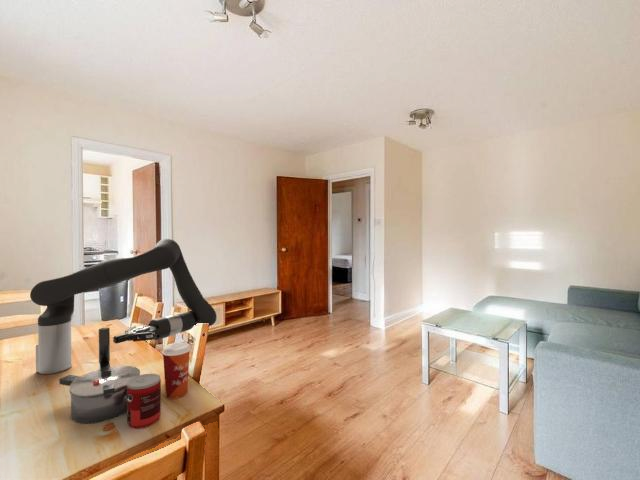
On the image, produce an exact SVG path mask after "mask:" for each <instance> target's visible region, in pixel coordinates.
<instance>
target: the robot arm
mask: <svg viewBox="0 0 640 480" xmlns="http://www.w3.org/2000/svg"><path fill="white" fill-rule="evenodd" d="M167 269H169V270H170V271H171V274H172V276H173V278H174V282H175V285H176V290H177V292H178V294H179V296H180V298H181V299H182V302H183V303H184V304H185V306H186V307H187V309H189V311H187V312H182V313H178V314H171V315H166V316H162V317H158V318H153V319H151V320H150V321H149V323H148V325H145V324H144V325H141V326H139V327H137V326H135V325H134V326H132V327H130V328H128V329H126V330H125V331H124V333H122V334H117V335H114V336H113V337H112V338H113V339H112V341H113V343H114V344H120V343H124V342H133V343H134V342H142V341H143V342H144V341H152V340H153V341H158V340H162V339H165V338H168V337H173V336H175V335H177V334H181V333H184V332H187V331H190V330H192V329H193V328H194V327H195V326H197V325H196V324H197V323H209V326H208V327H211V326H213V325H215V323H216V321H217V317H218V316H217V313H216V310H215V309H214V308H213V306H212V305H211V304H210V302H208V301H207V299H205V297H204V296H203V294H202V292H201V290H200V289H199V287H198V286H197V284H196V282H195V280H194V278H193V277H192V275H191V272H190V270H189V267H188V265H187V263H186V260H185V258H184V255H183V253H182V250H181V247H180V245H179V243H177V241H175V240H174V239H171V238H163V239H161V240H159V241H158V242H156V244H155V245H154V246H153V247H152V248H151V249H149V250H147V251H146V252H143V253H141V254H137V255H135V256H132V257H131V256H130V257H114V258H111V259H108V260H105V261H104V260H103V261H101V262H98V263H96V264H94V265H93V264H92V265H91V266H88V267H86V268H83V269H80V270H78V271H76V272H73V273H71V274H68V275H64V276H61V277H56V278H51V279H47V280H42V281H40V282H38V283H36V284H35V285H34V286H33V287H32V288H31V290H30V294H29V297H30V300H31V301H32V302H33V303H34V304H36V305H38V306H41V307H46V309H45V310H44V312H42V314H40V315H39V316H38V318H37V332H38V333H37V336H38V337H37V341H38V343H37V344H36V345H35V372H36V373H39V374H41V375H51V374H56V373H61V372H63V371H66V370H68V369H70V368H71V367H72V315H73V313H74V312H75V296H76V295H78V294H82V293H87V292H91V291H97V290H101V289H105V288H108V287H111V286H115V285H117V284H120V283H123V282H125V281H128V280H131V279H135V278H137V277H140V276H143V275H145V274H150V273H154V272H160V271H162V270H167ZM194 325H195V326H194Z"/></svg>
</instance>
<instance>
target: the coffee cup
mask: <svg viewBox="0 0 640 480" xmlns="http://www.w3.org/2000/svg"><path fill="white" fill-rule="evenodd" d="M191 350H192V347H191V346H190V344H189V343H188V342H185V341H178V342H171V343H169V344H166V345H164V347H163V350H162V352H161V354H162V360H163V371H164V385H165V395H166V398H168V399H179V398H182V397H184V396H185V395H187V393H188V387H189V386H188V384H189V371H190V370H189V369H190V368H189V367H190V354H191V353H190V352H191Z"/></svg>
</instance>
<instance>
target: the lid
mask: <svg viewBox="0 0 640 480" xmlns="http://www.w3.org/2000/svg"><path fill="white" fill-rule="evenodd" d="M110 332H111V331H110V327H102V328H99V329H98V363H99V369H97V370H93V371H90V372H87V373H86V374H83V375H81V377H79V378H77V379H76V380H74V381H73V382H72V383H71V384H70V386H69V388H68V389H69V394H70V395H71V394H72V395H74V396H79V397H92V396H100V395H106V394H110V393H114V392H115V391H118V390H121V389H123V388H126V387H127V382H128V381H129V380H130V379H132V378H134V377H136V376H139V375H141V370H140V369H139V368H138V367H136V366H132V365H115V366H111V363H110V360H111V358H110V357H111V355H110V354H111V352H110V347H111V345H110V343H111V340H110V339H111V338H110V335H111V334H110Z"/></svg>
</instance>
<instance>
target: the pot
mask: <svg viewBox="0 0 640 480" xmlns="http://www.w3.org/2000/svg"><path fill="white" fill-rule="evenodd" d="M81 376H82V375H81ZM81 376H80V375H73V374H67V375H66V376H63V377H61V378H59V383H58V384H59V385H62V386H66V387H67V386H69V387H70V384H71V383H72V382H73V381H74V380H76V379H77V378H79V377H81ZM70 412H71V413H70V416H71V417H70V418H71V420H72V421H73V422H75V423H76V424H82V425H85V424H86V425H87V424H90V425H91V424H97V423H101V422H102V423H103V422H106V421H110V420H113V419H116V418H119V417H120V416H123V415H125V414H127V387H126V388H123V389H121V390H118V391H115V392H114V393H110V394H106V395H100V396H92V397H79V396H74V395H72V394H71V393H70Z"/></svg>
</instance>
